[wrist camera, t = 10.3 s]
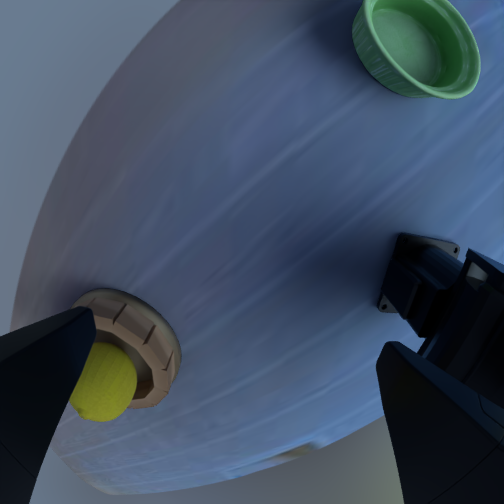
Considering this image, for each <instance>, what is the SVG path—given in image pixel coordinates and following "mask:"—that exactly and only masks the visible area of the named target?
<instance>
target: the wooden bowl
mask: <svg viewBox="0 0 504 504" xmlns="http://www.w3.org/2000/svg"><path fill="white" fill-rule="evenodd" d="M78 306H84V307H89V308H91V309H92V311H93V314H94V320H95V325H96V330H97V334H96V338H95V341H94V343H97V342H106V343H111V344H114V345H116V346H118V347H120V348H121V349H123V350H124V351H125V352H126V353H127V354H128V355H129V357H130V358H131V360H132V361H133V363H134V366H135V369H136V373H137V385H136V390H135V393H134V396H133V398H132V400H131V402H130V404H129V405H128V407H127V408H130V409H131V408H133V409H138V408H147V407H154V406H155V405H157V404H158V403H159V402H160V401H161V400H162V399H163V398H164V397H165V396H166V395H167V394H168V392H169V389H170V386H171V383H172V382H173V381H174V380H175V378H176V376H177V374H178V370H179V367H180V363H181V348H180V345H179V341H178V339H177V337H176V335H175V333H174V331H173V329H172V328H171V327H170V325H169V324H168V322H167V321H166V320H165V319H164V318H163V317H162V316H161V315H160V314H159V313H158V312H157V311H156V310H155V309H154V308H152V307H151V306H150V305H148V304H147V303H146V302H144V301H142V300H141V299H139V298H137V297H135V296H133V295H131V294H128V293H126V292H123V291H119V290H115V289H95V290H92V291H89V292H87V293H85V294H84V295H82V296H81V297H80V298H79V299H78V300H77V301H76V302H75V303H74V304H73V306H72V307H71V308H70V309H72V308H75V307H78Z"/></svg>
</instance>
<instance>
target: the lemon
mask: <svg viewBox="0 0 504 504" xmlns="http://www.w3.org/2000/svg"><path fill="white" fill-rule="evenodd" d="M136 385H137V373H136V369H135V366H134V363H133V361H132V360H131V358H130V357H129V355H128V354H127V353H126V352H125V351H124V350H123V349H121V348H120V347H118V346H116V345H114V344H111V343H106V342H97V343H93V346H92V348H91V351H90V353H89V356H88V358H87V361H86V364H85V366H84V369H83V371H82V374H81V376H80V378H79V380H78V382H77V384H76V386H75V388H74V391H73V393H72V395H71V397H70V399H69V401H70V403H71V405H72V406H73V408H74V409H75V410H76V411H77V412H78V414H79V416H80V417H81V418H83V419H85V420H86V419H89V420H92V421H98V422H105V421H109V420H113V419H115V418H116V417H118V416H119V415H120V414H122V413H123V412H124V411H125V409H126V408H127V407H128V405H129V404H130V402H131V400H132V398H133V396H134V393H135V390H136Z"/></svg>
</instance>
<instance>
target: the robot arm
mask: <svg viewBox="0 0 504 504" xmlns="http://www.w3.org/2000/svg"><path fill="white" fill-rule="evenodd" d="M404 238H406V240H405V242H402V241H403V239H404ZM454 249H455V250H454ZM459 251H460V247H459V245H457V244H455V243H452V242H447V241H443V240H438V239H433V238H428V237H424V236H419V235H414V234H409V233H401V234H400V235H399V236H398V238H397V242H396V246H395V249H394V253H393V256H392V259H391V260H390V263H389V266H388V269H387V272H386V276H385V279H384V282H383V285H382V288H381V291H382V292H381V295H380V298H379V300H378V303H377V308H378V310H379V311H380V312H385V313H399V315H400V316H401V317H402V319H404V320H406V321H407V322H408V323H409V325H410V326H411V327H412V329H413V330H414V331H415V333H416V334H417V335H418V337H420V338H425V341H424V342H423V344H422V346H421V347H420V349H419V350H418V352H417V353H416V352H414V351H412V350H411V349H409V348H408V347H406V346H405V345H403V344H402V343H400V342H398V341H388V342H386V343H385V345H384V347H383V349H382V351H381V353H380V355H379V358H378V360H377V363H376V371H377V377H378V382H379V388H380V394H381V400H382V406H383V410H384V414H385V418H386V422H387V426H388V430H389V433H390V437H391V442H392V446H393V450H394V455H395V459H396V463H397V468H398V473H399V478H400V483H401V488H402V494H403V499H404V504H504V265H503V264H501V263H499V262H497V261H495V260H493V259H491V258H489V257H487V256H484V255H482V254H480V253H478V252H476V251H474V250H472V249H470V248H468V251H467V253H466V260H465V262H464V264H463V263H462V262H460V261H459V260H457V258H458V254H459ZM384 304H385V306H384V307H382V305H384ZM96 334H97V330H96V325H95V320H94V314H93V311H92V309H91V308H89V307H84V306H78V307H75V308H72V309H70V310H67V311H64V312H62V313H59V314H57V315H54V316H51V317H49V318H46V319H44V320H41V321H38V322H36V323H33V324H31V325H28V326H26V327H23V328H20V329H18V330H15V331H13V332H10V333H8V334H5V335H3V336H0V504H29V502H30V499H31V495H32V492H33V489H34V486H35V483H36V478H37V476H38V473H39V471H40V468H41V465H42V463H43V460H44V457H45V455H46V452H47V450H48V447H49V445H50V442H51V440H52V437H53V435H54V432H55V430H56V428H57V425H58V423H59V421H60V419H61V416H62V414H63V412H64V410H65V407H66V405H67V403H68V401H69V399H70V397H71V395H72V393H73V391H74V388H75V386H76V384H77V382H78V380H79V378H80V376H81V374H82V371H83V369H84V366H85V364H86V361H87V358H88V356H89V353H90V351H91V348H92V346H93V343H94V341H95V338H96Z"/></svg>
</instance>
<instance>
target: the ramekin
mask: <svg viewBox="0 0 504 504" xmlns="http://www.w3.org/2000/svg"><path fill="white" fill-rule="evenodd" d="M352 39H353V43H354V47H355V49H356V52H357V54H358V56H359V58H360V60H361V61H362V63H363V65H364V66H365V68H366V69H367V70H368V71H369V73H370V74H371V75H372V76H373V77H374V78H375V79H376V80H378V81H379V82H380V83H381V84H382V85H384V86H385V87H387V88H388V89H390V90H392V91H394V92H396V93H398V94H400V95H403V96H407V97H412V98H428V97H436V98H441V99H458V98H461V97H464V96H466V95H468V94H469V93H470V92H471V91H472V90H473V89H474V87H475V86H476V84H477V82H478V79H479V75H480V55H479V50H478V47H477V44H476V41H475V38H474V36H473V34H472V32H471V30H470V28H469V26H468V25H467V23H466V22H465V20H464V19H463V17H462V16H461V15H460V13H459V12H458V11H457V10H456V9H455V8H454V7H453V5H452V4H451V3H450V2H448V1H447V0H363V2H362V6H361V7H360V9H359V11H358V13H357V15H356V17H355V19H354V21H353V25H352Z"/></svg>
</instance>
